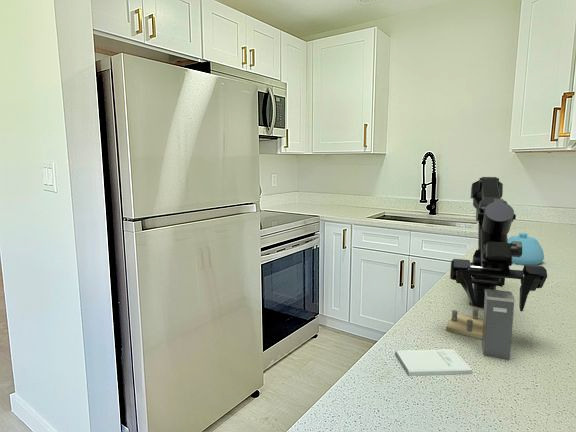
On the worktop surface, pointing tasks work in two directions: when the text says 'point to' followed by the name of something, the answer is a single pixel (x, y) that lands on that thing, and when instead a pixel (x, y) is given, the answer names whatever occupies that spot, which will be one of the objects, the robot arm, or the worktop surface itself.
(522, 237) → the sugar bowl
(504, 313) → the tower
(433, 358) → the external hard drive
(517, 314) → the worktop surface
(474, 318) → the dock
